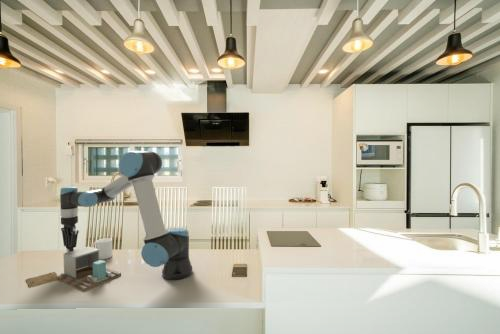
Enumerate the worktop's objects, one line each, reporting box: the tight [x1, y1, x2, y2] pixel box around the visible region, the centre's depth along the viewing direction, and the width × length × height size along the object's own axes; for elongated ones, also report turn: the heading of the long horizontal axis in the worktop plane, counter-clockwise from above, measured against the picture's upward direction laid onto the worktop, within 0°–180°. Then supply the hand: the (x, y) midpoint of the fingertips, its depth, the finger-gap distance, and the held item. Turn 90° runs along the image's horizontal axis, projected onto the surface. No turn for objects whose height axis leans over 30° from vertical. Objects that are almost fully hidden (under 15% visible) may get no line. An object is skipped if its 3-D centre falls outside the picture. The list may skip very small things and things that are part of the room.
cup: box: [91, 237, 113, 260], centre depth 160 cm, size 8×12×10 cm
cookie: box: [25, 271, 60, 289], centre depth 130 cm, size 12×12×1 cm
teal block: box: [93, 259, 107, 281], centre depth 129 cm, size 4×4×8 cm
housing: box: [63, 245, 101, 278], centre depth 136 cm, size 10×12×10 cm
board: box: [57, 266, 122, 292], centre depth 133 cm, size 24×18×3 cm
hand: (70, 259), depth 142 cm, fingers closed
